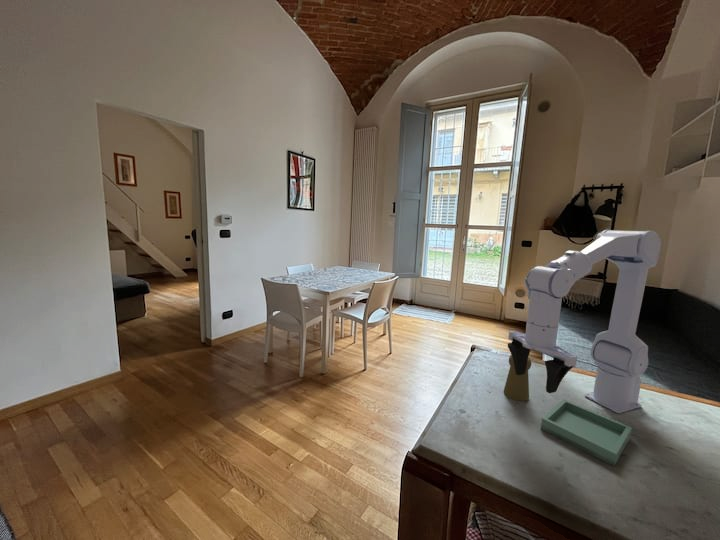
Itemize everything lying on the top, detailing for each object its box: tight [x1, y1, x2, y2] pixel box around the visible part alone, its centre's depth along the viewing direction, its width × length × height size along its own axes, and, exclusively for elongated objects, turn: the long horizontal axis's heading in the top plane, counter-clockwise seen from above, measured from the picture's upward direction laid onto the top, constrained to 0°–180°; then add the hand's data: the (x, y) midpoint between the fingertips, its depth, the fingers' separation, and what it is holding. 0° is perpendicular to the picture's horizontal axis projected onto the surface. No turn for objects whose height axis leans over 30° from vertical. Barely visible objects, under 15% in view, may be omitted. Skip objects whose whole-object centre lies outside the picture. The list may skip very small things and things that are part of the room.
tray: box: [540, 398, 633, 467], centre depth 63 cm, size 13×13×2 cm
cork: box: [503, 354, 532, 402], centre depth 77 cm, size 6×6×11 cm
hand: (534, 382), depth 65 cm, fingers open, 7 cm apart
